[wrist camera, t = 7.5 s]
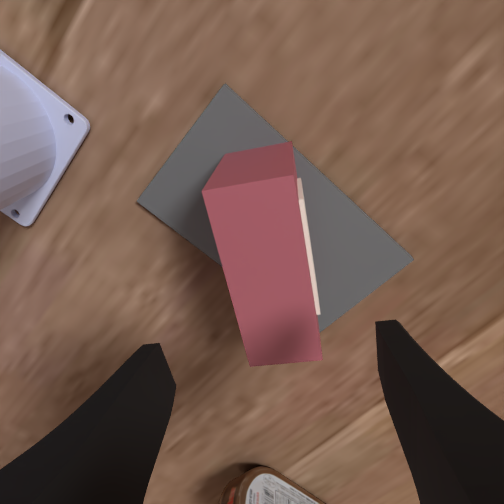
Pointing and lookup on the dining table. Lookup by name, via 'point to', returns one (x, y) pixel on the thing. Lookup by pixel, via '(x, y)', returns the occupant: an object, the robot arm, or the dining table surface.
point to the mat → (315, 196)
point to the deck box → (266, 253)
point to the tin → (265, 489)
